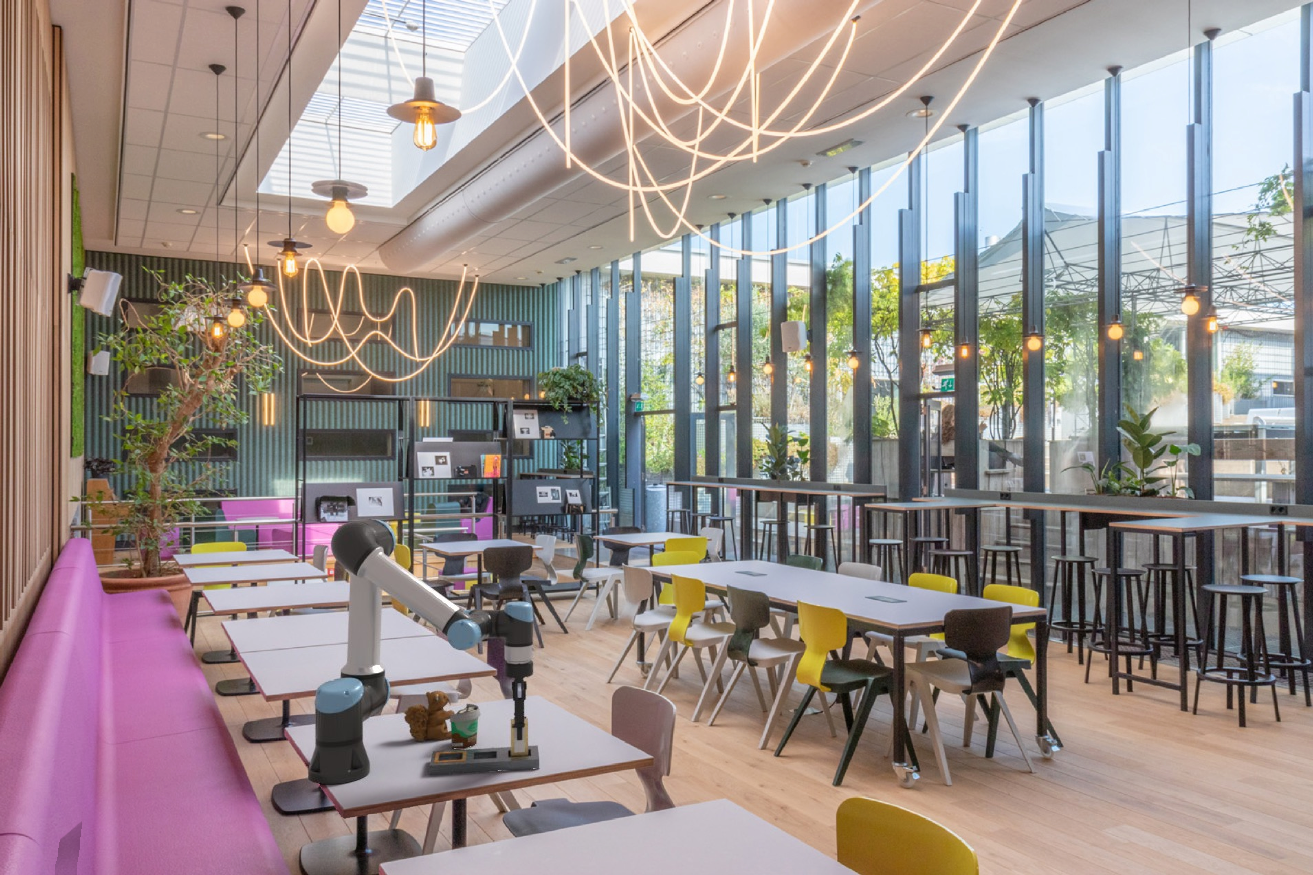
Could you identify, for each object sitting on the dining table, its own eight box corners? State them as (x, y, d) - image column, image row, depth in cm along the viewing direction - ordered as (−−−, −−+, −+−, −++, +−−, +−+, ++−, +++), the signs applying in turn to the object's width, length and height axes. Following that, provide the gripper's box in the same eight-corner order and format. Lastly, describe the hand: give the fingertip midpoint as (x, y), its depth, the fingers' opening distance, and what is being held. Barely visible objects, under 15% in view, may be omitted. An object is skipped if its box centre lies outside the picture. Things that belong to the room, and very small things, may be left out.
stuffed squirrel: (459, 737, 272) (459, 692, 273) (412, 746, 264) (412, 699, 265) (446, 729, 281) (446, 685, 281) (400, 738, 273) (400, 692, 273)
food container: (470, 751, 259) (470, 715, 259) (449, 750, 260) (449, 714, 260) (487, 738, 271) (487, 703, 271) (467, 737, 272) (467, 703, 272)
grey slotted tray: (429, 775, 239) (429, 764, 240) (432, 760, 251) (432, 750, 251) (539, 768, 244) (539, 758, 244) (537, 754, 256) (537, 744, 256)
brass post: (510, 765, 246) (510, 723, 247) (510, 760, 251) (510, 719, 251) (528, 764, 247) (528, 722, 247) (527, 759, 252) (527, 718, 252)
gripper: (534, 667, 242) (534, 758, 241) (532, 653, 259) (532, 738, 258) (504, 668, 240) (505, 759, 240) (504, 654, 258) (505, 739, 257)
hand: (519, 748), depth 249 cm, fingers closed on brass post, 4 cm apart
